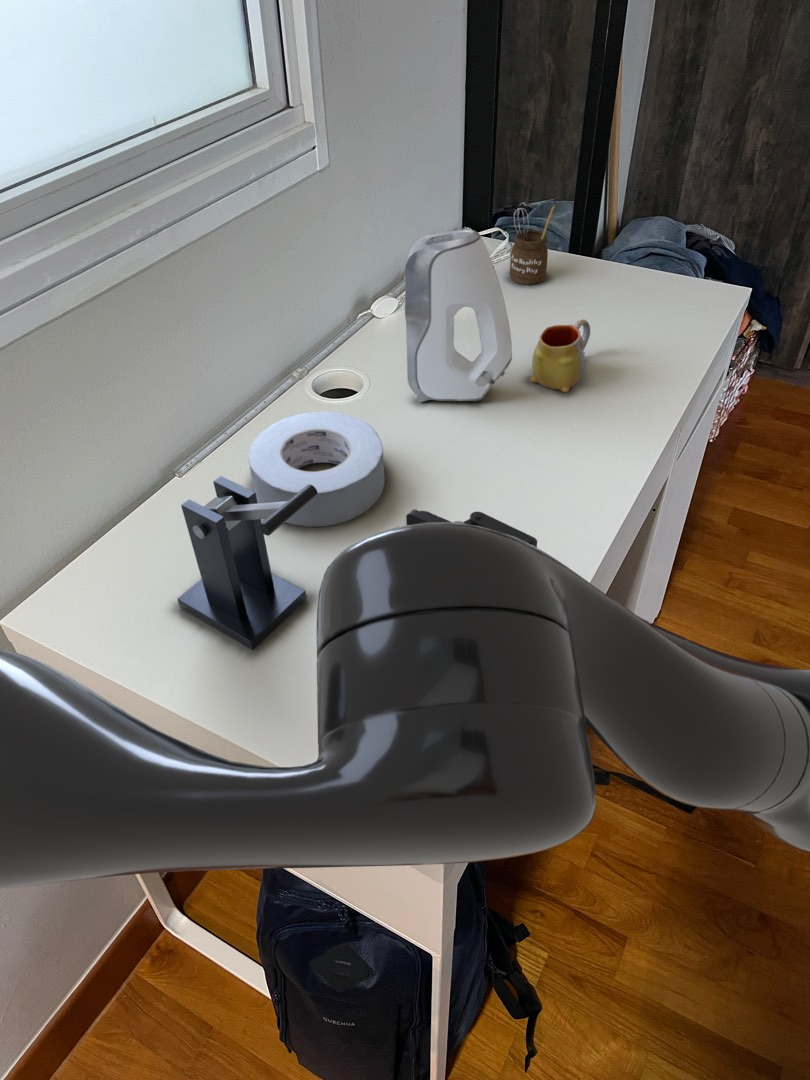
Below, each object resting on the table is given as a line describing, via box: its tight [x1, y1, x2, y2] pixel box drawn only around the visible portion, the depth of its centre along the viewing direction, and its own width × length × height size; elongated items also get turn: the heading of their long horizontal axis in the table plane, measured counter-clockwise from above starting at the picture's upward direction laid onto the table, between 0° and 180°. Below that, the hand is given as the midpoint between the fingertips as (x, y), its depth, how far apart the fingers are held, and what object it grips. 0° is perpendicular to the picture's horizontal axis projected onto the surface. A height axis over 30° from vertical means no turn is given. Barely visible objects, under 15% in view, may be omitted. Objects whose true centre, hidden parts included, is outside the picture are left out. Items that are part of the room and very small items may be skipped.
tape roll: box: [248, 411, 385, 528], centre depth 95 cm, size 15×15×5 cm
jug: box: [404, 229, 513, 403], centre depth 102 cm, size 13×5×22 cm, turn 83°
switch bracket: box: [177, 475, 307, 651], centre depth 78 cm, size 10×8×14 cm
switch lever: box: [203, 484, 318, 537], centre depth 71 cm, size 12×6×2 cm, turn 54°
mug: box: [530, 319, 591, 393], centre depth 111 cm, size 12×7×7 cm, turn 141°
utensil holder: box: [509, 204, 556, 286], centre depth 130 cm, size 6×6×12 cm
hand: (376, 550), depth 63 cm, fingers open, 8 cm apart
